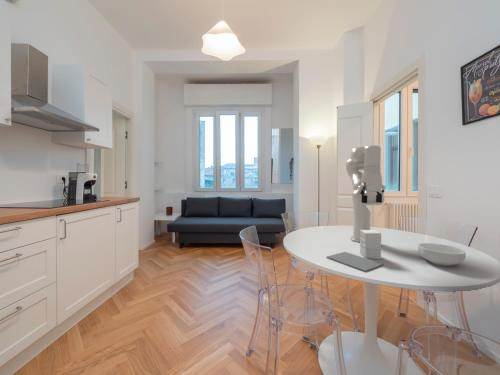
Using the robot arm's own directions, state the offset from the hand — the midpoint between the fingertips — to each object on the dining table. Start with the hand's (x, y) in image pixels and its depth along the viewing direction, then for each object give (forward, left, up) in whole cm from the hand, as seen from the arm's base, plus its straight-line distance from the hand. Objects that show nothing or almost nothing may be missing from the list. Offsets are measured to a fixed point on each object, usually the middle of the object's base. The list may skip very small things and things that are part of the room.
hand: (371, 202), depth 120 cm
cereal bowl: (-12, +26, -26) cm, 39 cm away
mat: (+20, +4, -26) cm, 33 cm away
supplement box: (+7, +4, -26) cm, 27 cm away
